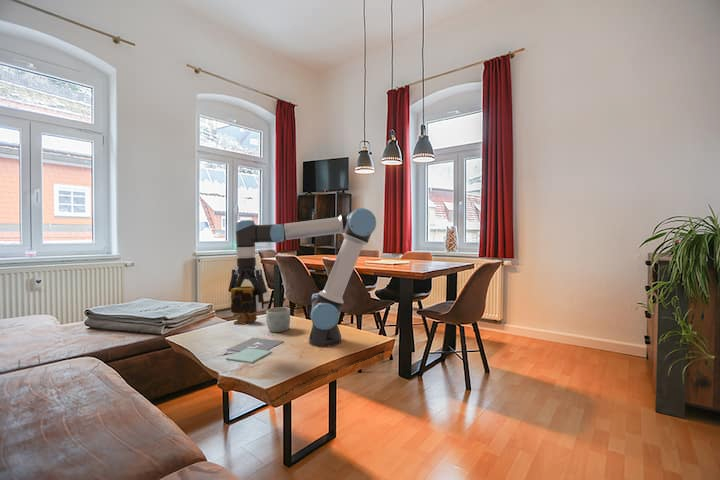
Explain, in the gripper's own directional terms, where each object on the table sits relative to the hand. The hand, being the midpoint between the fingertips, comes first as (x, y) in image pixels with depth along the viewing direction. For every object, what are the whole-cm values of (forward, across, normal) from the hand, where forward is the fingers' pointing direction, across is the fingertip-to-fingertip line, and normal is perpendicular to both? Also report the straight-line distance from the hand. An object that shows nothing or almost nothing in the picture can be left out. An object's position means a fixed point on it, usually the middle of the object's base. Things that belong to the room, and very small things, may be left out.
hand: (248, 309), depth 150 cm
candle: (+1, 0, 0) cm, 1 cm away
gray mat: (+20, +6, -12) cm, 24 cm away
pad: (+20, 0, 0) cm, 20 cm away
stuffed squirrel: (+20, +39, -45) cm, 63 cm away
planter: (+20, +11, -37) cm, 43 cm away
